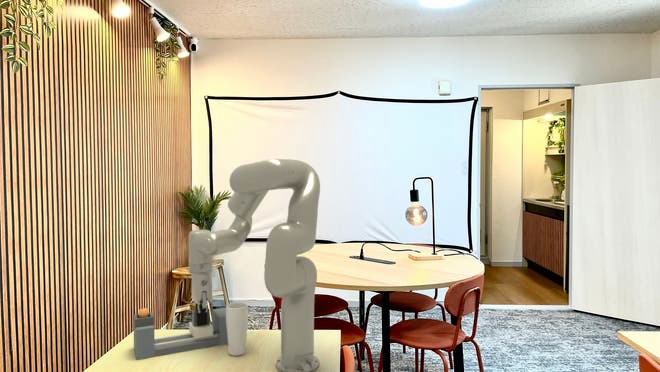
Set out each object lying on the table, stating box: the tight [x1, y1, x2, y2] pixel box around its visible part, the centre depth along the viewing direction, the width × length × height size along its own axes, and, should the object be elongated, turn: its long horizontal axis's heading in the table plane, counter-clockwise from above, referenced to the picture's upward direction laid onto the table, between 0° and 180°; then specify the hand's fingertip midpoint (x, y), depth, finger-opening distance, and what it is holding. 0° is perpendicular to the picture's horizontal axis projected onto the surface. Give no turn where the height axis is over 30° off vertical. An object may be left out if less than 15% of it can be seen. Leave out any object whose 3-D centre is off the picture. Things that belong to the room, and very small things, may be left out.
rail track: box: [133, 307, 228, 361], centre depth 146 cm, size 30×10×12 cm, turn 118°
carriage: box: [188, 306, 213, 339], centre depth 148 cm, size 6×8×8 cm
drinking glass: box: [225, 302, 249, 357], centre depth 140 cm, size 7×7×15 cm
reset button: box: [138, 307, 150, 318], centre depth 140 cm, size 3×3×3 cm
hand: (200, 322), depth 148 cm, fingers closed on carriage, 3 cm apart
